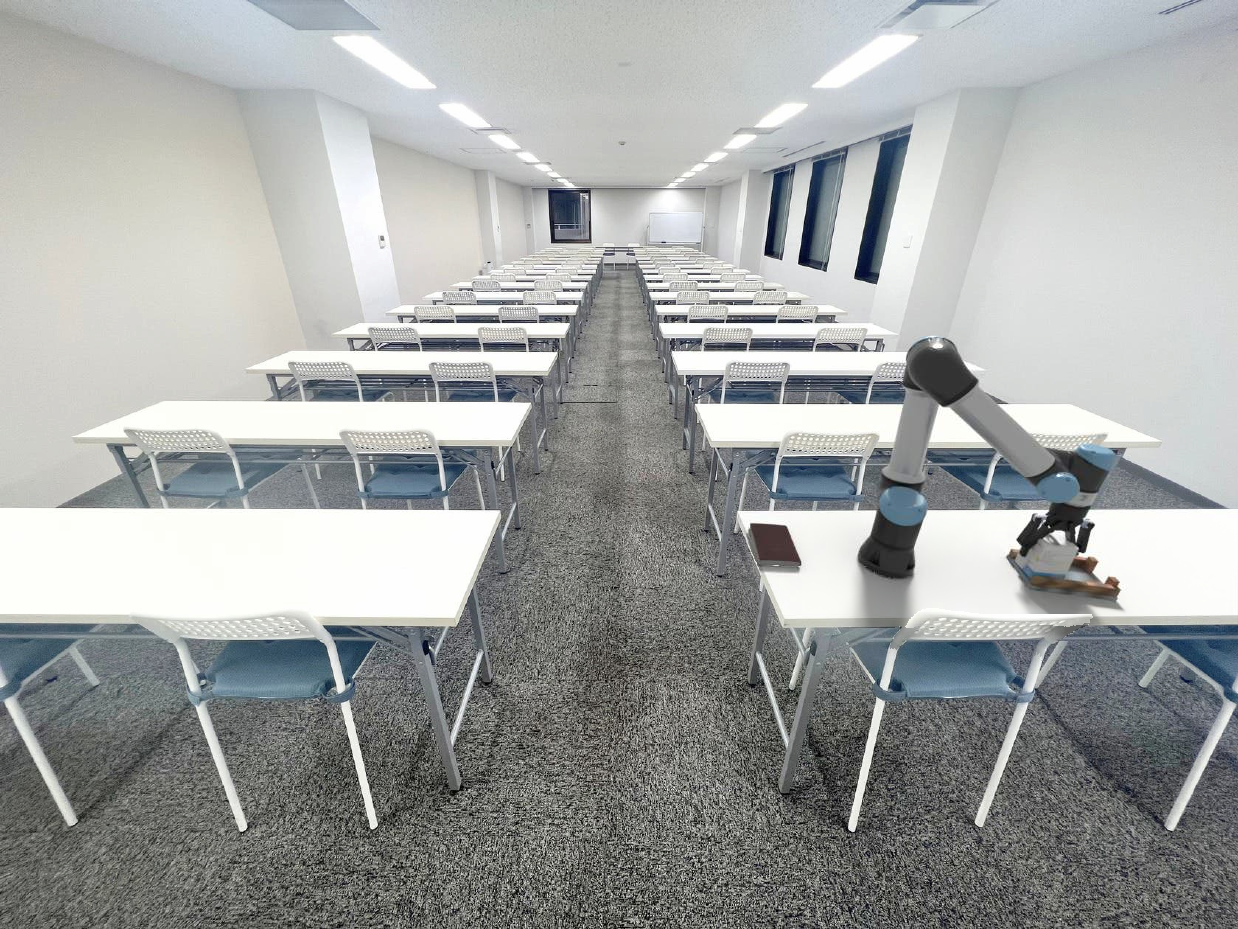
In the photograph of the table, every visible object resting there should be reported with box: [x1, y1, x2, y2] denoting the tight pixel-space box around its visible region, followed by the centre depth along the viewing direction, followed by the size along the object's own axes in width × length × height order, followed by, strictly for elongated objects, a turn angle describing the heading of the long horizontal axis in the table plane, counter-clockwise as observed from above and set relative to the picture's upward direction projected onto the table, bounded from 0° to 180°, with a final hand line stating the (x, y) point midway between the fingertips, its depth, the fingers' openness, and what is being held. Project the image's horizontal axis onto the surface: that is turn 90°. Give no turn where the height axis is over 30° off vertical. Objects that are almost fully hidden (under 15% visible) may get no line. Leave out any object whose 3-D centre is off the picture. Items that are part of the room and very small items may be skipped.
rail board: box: [1005, 548, 1122, 601], centre depth 137 cm, size 20×15×5 cm
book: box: [748, 522, 802, 567], centre depth 151 cm, size 12×19×3 cm, turn 175°
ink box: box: [1015, 531, 1079, 579], centre depth 135 cm, size 9×8×13 cm
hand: (1039, 567), depth 138 cm, fingers closed on ink box, 8 cm apart
